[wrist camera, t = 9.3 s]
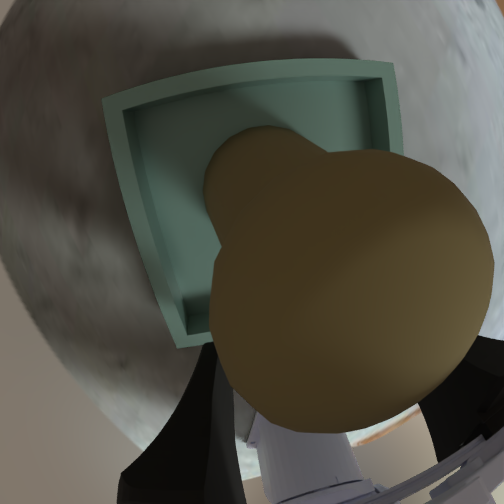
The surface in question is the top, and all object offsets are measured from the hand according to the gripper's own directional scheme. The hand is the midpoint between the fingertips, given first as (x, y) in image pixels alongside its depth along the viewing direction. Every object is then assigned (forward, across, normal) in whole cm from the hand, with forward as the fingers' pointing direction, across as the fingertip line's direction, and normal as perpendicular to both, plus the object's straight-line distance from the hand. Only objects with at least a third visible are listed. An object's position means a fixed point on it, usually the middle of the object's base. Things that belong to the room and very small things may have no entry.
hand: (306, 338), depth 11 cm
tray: (+5, 0, -5) cm, 7 cm away
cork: (+4, 0, -5) cm, 7 cm away
